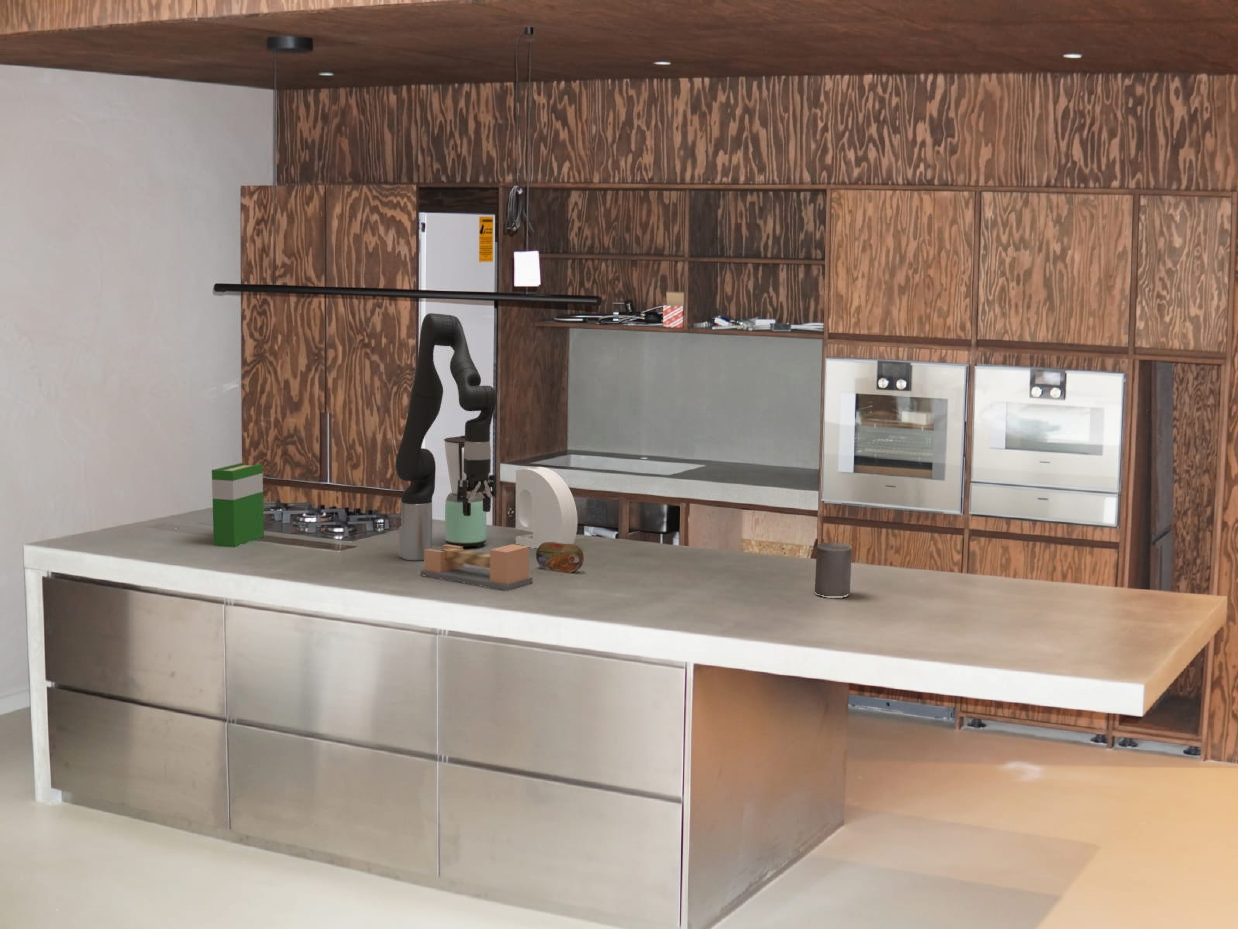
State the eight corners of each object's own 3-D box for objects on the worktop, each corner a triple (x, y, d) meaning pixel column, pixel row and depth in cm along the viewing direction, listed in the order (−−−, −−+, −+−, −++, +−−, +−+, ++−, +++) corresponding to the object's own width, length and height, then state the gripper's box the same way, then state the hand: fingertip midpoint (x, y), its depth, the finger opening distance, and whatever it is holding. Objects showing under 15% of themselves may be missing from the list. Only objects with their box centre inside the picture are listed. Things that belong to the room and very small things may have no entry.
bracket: (530, 542, 455) (530, 465, 452) (577, 551, 441) (577, 471, 438) (515, 545, 450) (514, 467, 447) (562, 554, 436) (562, 474, 433)
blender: (443, 540, 455) (443, 433, 450) (485, 540, 457) (485, 432, 452) (445, 552, 436) (445, 440, 431) (489, 551, 439) (489, 440, 434)
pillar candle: (807, 592, 390) (809, 539, 387) (838, 589, 393) (840, 536, 391) (826, 600, 381) (828, 546, 379) (857, 597, 385) (859, 543, 382)
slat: (440, 559, 404) (440, 549, 404) (450, 557, 407) (450, 547, 407) (506, 570, 391) (506, 560, 391) (515, 568, 394) (515, 557, 394)
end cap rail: (420, 575, 404) (420, 539, 402) (448, 568, 414) (448, 533, 412) (505, 590, 387) (506, 553, 385) (532, 583, 397) (532, 546, 395)
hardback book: (243, 535, 459) (241, 462, 456) (263, 537, 457) (262, 463, 454) (213, 545, 442) (211, 470, 439) (234, 547, 440) (232, 471, 437)
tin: (535, 568, 415) (535, 540, 414) (540, 566, 418) (541, 539, 417) (579, 574, 408) (580, 546, 407) (585, 572, 411) (585, 544, 410)
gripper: (483, 452, 403) (482, 508, 405) (450, 458, 391) (449, 515, 393) (503, 455, 398) (503, 511, 401) (471, 460, 387) (470, 518, 389)
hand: (476, 513), depth 397 cm, fingers open, 8 cm apart
